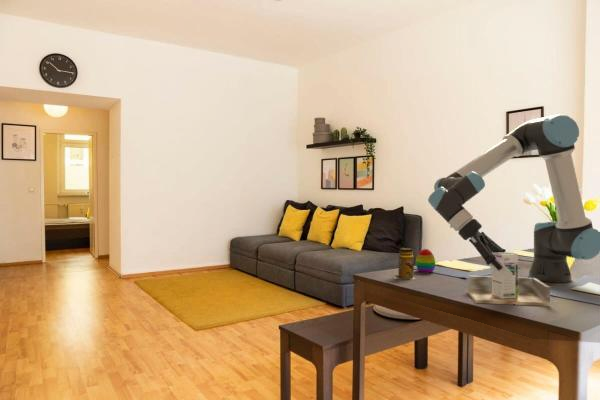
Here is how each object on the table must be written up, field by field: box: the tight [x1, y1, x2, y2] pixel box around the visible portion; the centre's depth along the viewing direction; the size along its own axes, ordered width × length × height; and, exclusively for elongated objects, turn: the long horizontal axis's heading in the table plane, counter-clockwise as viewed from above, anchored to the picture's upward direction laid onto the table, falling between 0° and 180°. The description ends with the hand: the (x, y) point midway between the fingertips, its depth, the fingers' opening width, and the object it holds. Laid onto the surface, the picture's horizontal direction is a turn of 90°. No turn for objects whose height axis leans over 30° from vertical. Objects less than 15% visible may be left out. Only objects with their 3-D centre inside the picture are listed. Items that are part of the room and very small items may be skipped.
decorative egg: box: [415, 248, 436, 274], centre depth 195 cm, size 8×8×10 cm
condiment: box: [392, 247, 416, 280], centre depth 183 cm, size 7×8×12 cm
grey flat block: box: [467, 275, 551, 307], centre depth 149 cm, size 22×14×6 cm, turn 80°
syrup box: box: [491, 251, 519, 299], centre depth 147 cm, size 6×6×14 cm
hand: (512, 273), depth 145 cm, fingers open, 13 cm apart
